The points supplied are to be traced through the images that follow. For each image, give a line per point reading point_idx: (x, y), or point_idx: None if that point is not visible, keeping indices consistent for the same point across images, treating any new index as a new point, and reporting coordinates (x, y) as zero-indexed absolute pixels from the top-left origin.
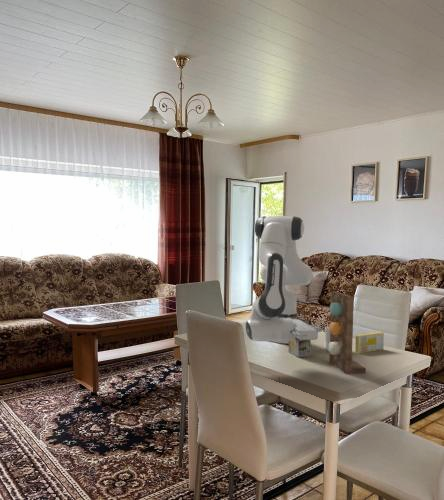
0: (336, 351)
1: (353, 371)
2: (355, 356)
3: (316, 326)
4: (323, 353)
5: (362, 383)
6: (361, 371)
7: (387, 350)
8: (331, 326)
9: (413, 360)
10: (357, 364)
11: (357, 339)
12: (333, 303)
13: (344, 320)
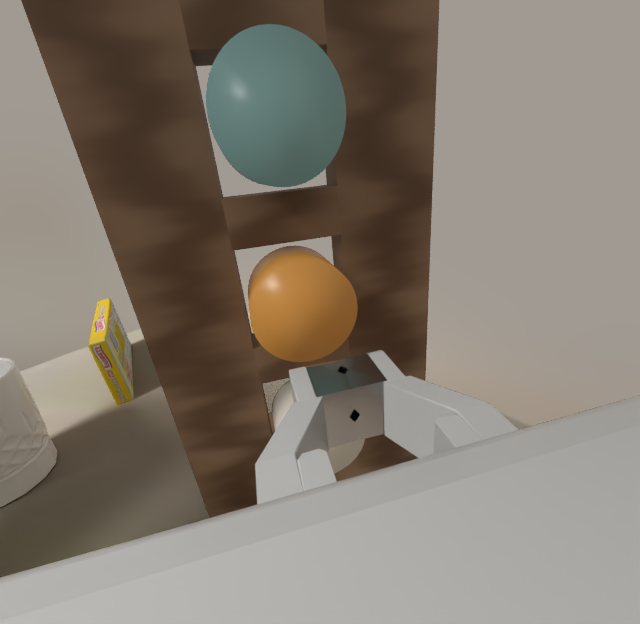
0: None
1: None
2: (166, 409)
3: (327, 379)
4: (42, 543)
5: (524, 424)
6: None
7: (141, 340)
8: (294, 300)
9: None
10: None
11: (108, 354)
12: (291, 29)
13: (375, 200)
